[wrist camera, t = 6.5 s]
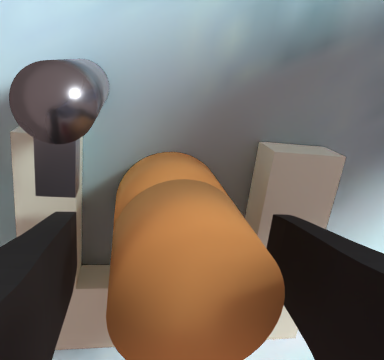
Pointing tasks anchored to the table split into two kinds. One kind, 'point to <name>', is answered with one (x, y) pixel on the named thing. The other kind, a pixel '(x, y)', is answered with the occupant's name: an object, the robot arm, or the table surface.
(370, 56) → the table surface
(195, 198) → the orange rounded cylinder
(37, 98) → the hook post
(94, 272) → the beige u-shaped block
